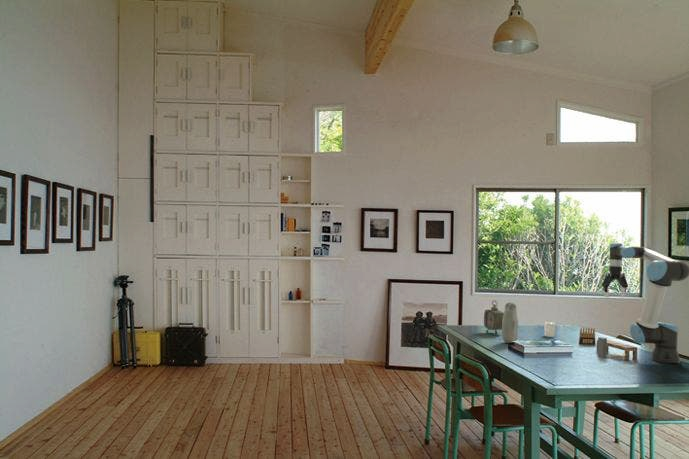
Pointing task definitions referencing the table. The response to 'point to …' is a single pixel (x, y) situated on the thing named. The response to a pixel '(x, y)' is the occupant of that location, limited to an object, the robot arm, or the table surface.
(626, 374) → the table surface
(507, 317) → the beige vase
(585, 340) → the ammunition clip
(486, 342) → the table surface
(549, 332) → the white cup
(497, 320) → the tabletop clock
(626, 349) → the low bench
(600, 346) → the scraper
